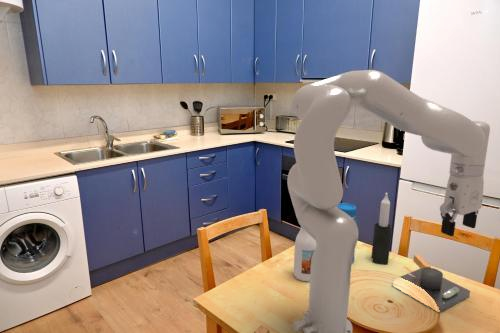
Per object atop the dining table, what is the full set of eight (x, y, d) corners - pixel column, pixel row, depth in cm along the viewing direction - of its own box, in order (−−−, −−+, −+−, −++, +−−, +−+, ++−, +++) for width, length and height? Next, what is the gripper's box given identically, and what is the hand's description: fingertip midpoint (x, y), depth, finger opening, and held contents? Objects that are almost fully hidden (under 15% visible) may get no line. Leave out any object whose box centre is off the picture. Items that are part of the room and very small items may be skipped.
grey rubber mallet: (444, 289, 100) (447, 276, 99) (425, 289, 100) (427, 276, 99) (423, 267, 113) (425, 254, 112) (406, 267, 113) (407, 254, 112)
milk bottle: (291, 279, 109) (293, 220, 104) (295, 267, 116) (298, 211, 111) (316, 284, 107) (319, 223, 102) (318, 271, 114) (322, 214, 109)
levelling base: (438, 313, 94) (440, 300, 93) (391, 285, 106) (392, 274, 105) (469, 296, 101) (471, 285, 100) (422, 273, 113) (423, 262, 113)
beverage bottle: (354, 267, 117) (359, 211, 112) (328, 263, 119) (332, 208, 115) (354, 256, 124) (359, 203, 120) (330, 252, 127) (334, 200, 122)
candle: (388, 265, 118) (396, 195, 113) (372, 263, 119) (379, 194, 114) (385, 258, 123) (393, 191, 117) (370, 256, 124) (377, 190, 118)
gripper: (461, 177, 82) (452, 243, 86) (500, 167, 90) (490, 228, 94) (432, 170, 89) (425, 232, 93) (470, 162, 97) (463, 219, 101)
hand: (458, 230), depth 94 cm, fingers open, 9 cm apart
